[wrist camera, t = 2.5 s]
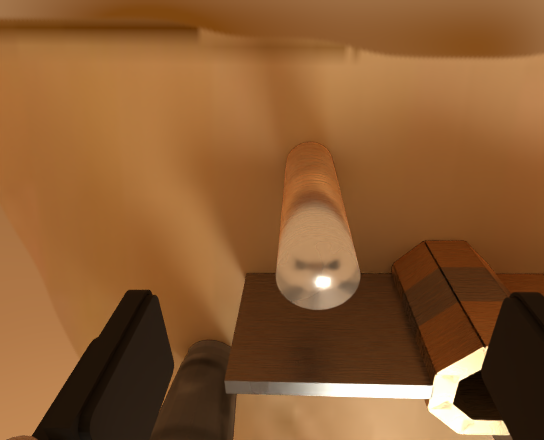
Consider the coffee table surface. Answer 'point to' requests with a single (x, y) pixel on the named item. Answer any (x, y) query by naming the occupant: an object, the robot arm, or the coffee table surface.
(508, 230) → the coffee table surface
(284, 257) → the steel pin
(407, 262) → the hinge
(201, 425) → the beverage cup
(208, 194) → the coffee table surface
